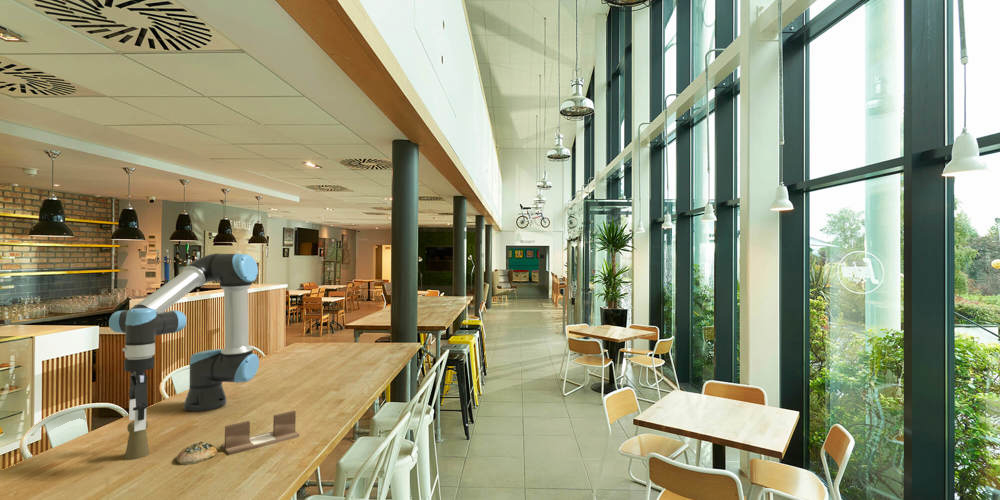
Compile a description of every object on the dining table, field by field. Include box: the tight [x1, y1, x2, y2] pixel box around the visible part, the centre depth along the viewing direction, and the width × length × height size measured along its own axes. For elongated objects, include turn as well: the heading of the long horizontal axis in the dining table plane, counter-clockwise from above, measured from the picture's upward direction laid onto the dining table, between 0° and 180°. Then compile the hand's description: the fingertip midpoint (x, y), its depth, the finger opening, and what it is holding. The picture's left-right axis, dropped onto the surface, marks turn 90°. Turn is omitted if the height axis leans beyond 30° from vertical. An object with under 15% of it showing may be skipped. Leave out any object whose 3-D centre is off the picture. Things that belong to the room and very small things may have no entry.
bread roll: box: [175, 441, 219, 465], centre depth 143 cm, size 11×11×5 cm
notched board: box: [221, 410, 300, 456], centre depth 155 cm, size 9×22×8 cm, turn 135°
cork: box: [124, 419, 150, 461], centre depth 144 cm, size 6×6×11 cm
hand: (136, 424), depth 143 cm, fingers open, 13 cm apart
